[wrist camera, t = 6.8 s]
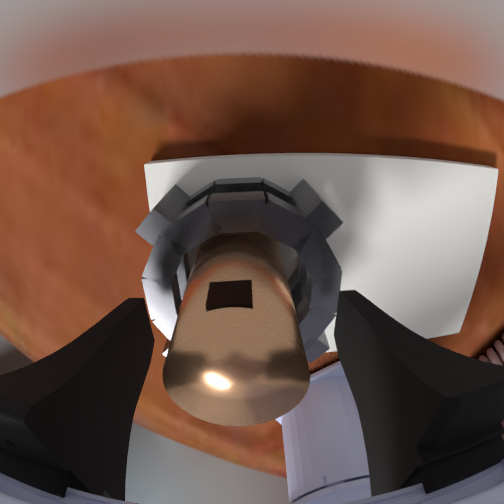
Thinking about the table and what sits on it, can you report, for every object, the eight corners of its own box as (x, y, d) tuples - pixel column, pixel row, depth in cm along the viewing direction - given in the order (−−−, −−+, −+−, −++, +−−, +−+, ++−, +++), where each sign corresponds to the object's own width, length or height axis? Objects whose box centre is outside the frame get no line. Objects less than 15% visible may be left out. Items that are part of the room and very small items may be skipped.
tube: (279, 281, 17) (306, 420, 9) (205, 286, 17) (180, 426, 9) (277, 207, 15) (314, 319, 7) (194, 213, 15) (144, 328, 7)
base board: (488, 165, 15) (498, 169, 14) (453, 324, 20) (459, 332, 19) (150, 161, 15) (144, 164, 14) (180, 347, 20) (177, 357, 19)
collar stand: (323, 175, 15) (347, 197, 11) (315, 315, 18) (330, 362, 14) (156, 183, 15) (128, 207, 11) (177, 320, 18) (164, 368, 14)
